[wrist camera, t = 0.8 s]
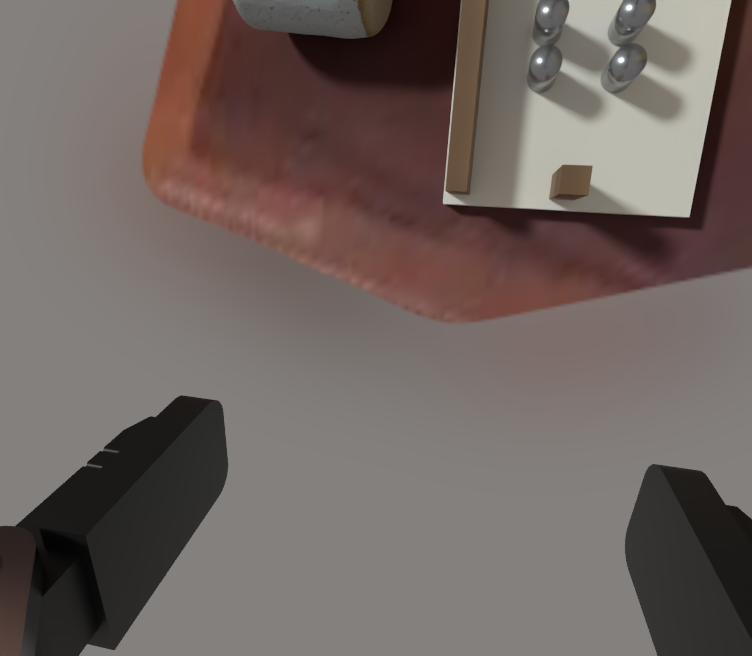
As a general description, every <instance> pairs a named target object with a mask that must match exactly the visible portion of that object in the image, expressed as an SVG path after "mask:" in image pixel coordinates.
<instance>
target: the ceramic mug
mask: <svg viewBox="0 0 752 656" xmlns="http://www.w3.org/2000/svg"><path fill="white" fill-rule="evenodd" d="M392 1H393V0H233V2H234V4H235V6H236V8H237V10H238V12H239V14H240V15H241V17H242V18H243V20H244V21H245V22H246V23H247V24H248V25H250V26H251V27H253V28H255V29H257V30H266V31H276V32H288V33H297V34H307V35H323V36H330V37H337V38H346V39H356V38H365V37H372V36H374V35H376V34H377V33H379V32H380V30H381V29H382V28H383V27H384V25H385V23H386V22H387V20H388V17H389V14H390V10H391V6H392Z"/></svg>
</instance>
